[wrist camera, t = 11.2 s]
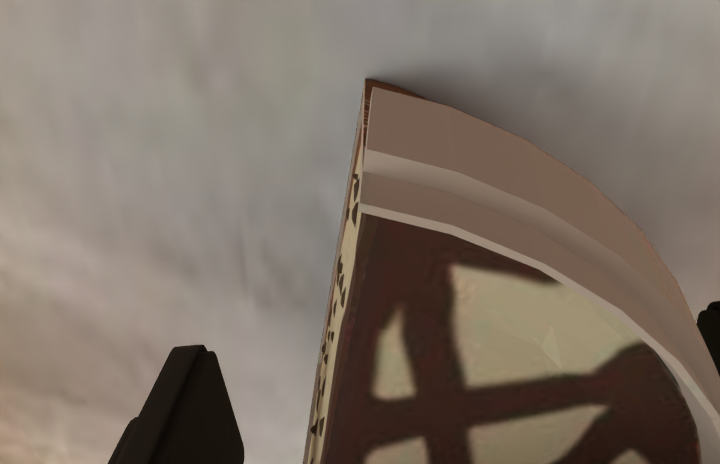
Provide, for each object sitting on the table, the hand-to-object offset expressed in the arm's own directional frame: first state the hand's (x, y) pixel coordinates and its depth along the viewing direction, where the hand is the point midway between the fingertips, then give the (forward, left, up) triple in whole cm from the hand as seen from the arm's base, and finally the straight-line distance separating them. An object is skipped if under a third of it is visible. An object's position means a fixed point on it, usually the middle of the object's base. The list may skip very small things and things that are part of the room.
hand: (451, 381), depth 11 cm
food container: (0, 0, -6) cm, 6 cm away
